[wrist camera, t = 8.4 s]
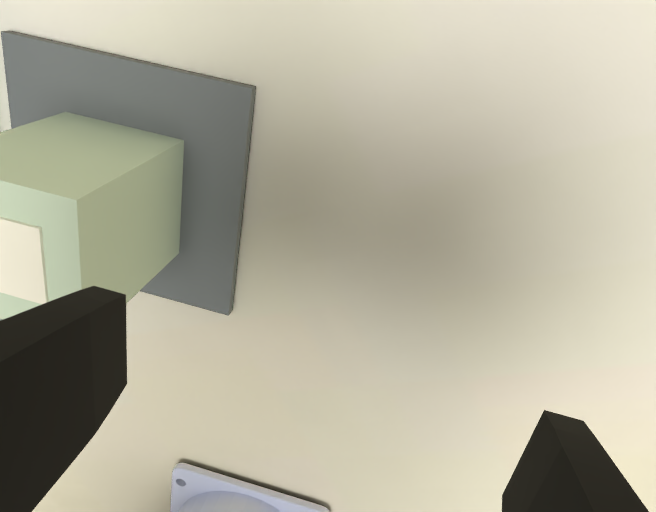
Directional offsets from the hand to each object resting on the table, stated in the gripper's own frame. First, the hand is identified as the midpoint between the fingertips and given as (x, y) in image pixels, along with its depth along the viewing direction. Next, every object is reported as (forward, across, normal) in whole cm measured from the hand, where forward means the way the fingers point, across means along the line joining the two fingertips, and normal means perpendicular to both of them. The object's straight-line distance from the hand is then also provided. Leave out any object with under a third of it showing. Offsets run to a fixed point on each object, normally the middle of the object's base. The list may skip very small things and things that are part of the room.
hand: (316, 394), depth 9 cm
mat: (+10, +10, +2) cm, 14 cm away
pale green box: (+10, +9, +2) cm, 14 cm away
